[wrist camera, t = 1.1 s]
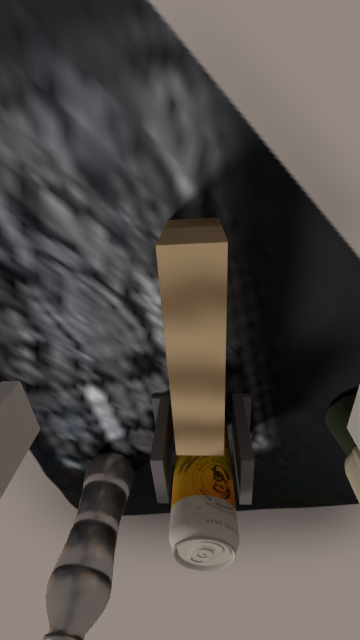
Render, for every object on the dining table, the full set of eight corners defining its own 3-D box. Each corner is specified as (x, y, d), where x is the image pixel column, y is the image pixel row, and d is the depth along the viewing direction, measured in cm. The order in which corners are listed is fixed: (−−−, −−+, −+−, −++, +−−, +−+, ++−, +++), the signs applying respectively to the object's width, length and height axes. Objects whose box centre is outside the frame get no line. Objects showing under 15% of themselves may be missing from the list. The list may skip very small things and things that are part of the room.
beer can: (235, 411, 37) (255, 551, 24) (210, 440, 40) (216, 579, 26) (192, 393, 36) (189, 528, 23) (170, 423, 39) (155, 560, 25)
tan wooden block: (168, 219, 26) (155, 245, 19) (218, 217, 26) (227, 242, 18) (181, 390, 36) (176, 455, 28) (218, 389, 36) (223, 455, 28)
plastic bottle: (118, 439, 41) (57, 653, 23) (145, 467, 43) (109, 678, 26) (82, 453, 42) (1, 661, 25) (110, 480, 45) (55, 684, 28)
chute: (151, 395, 36) (139, 460, 28) (250, 393, 35) (266, 460, 27) (157, 434, 40) (148, 502, 32) (248, 434, 39) (261, 504, 31)
